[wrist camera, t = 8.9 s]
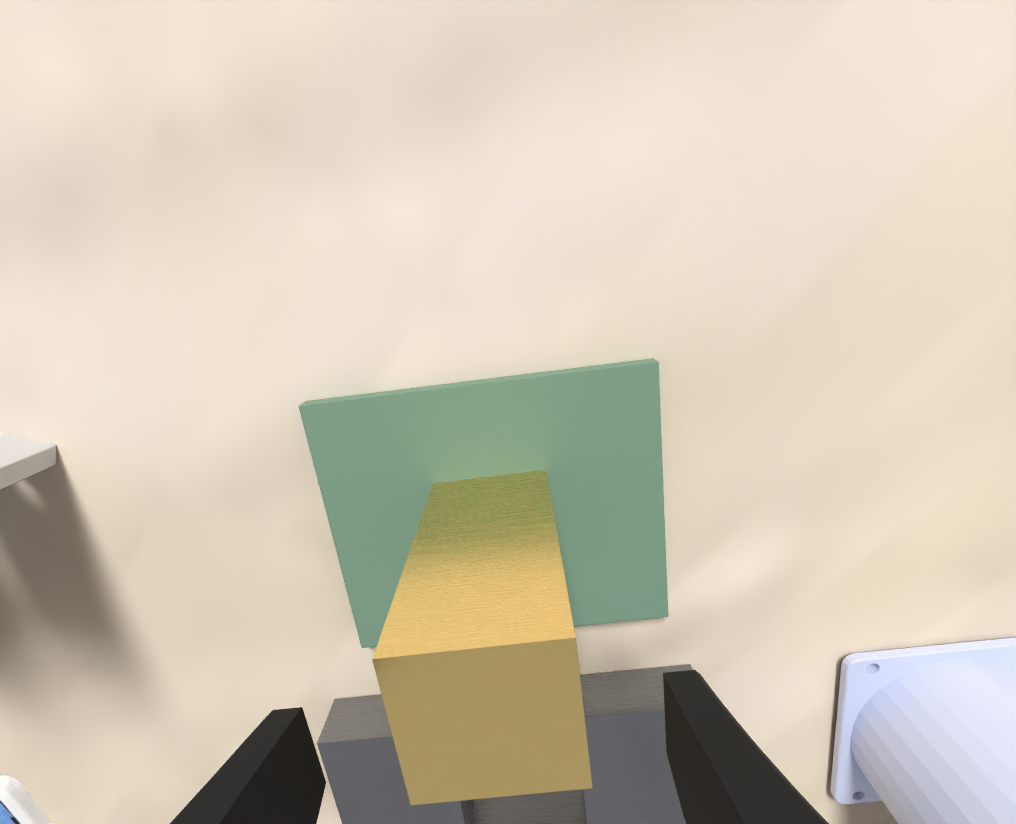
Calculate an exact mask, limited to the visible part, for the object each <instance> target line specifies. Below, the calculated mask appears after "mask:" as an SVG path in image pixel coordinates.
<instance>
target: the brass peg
mask: <svg viewBox="0 0 1016 824" xmlns="http://www.w3.org/2000/svg"><path fill="white" fill-rule="evenodd" d="M372 660H373V664H374V667H375V671H376V675H377V679H378V683H379V686H380V690H381V694H382V698H383V702H384V705H385V709H386V713H387V717H388V721H389V724H390V728H391V732H392V736H393V740H394V743H395V747H396V751H397V755H398V759H399V762H400V766H401V770H402V774H403V778H404V781H405V785H406V789H407V793H408V797H409V800H410V804H411V805H419V804H430V803H440V802H451V801H462V800H472V799H483V798H494V797H504V796H515V795H526V794H537V793H547V792H558V791H569V790H579V789H590V788H592V779H591V771H590V762H589V753H588V744H587V735H586V726H585V717H584V708H583V699H582V690H581V681H580V673H579V664H578V655H577V646H576V637H575V631H574V626H573V620H572V614H571V609H570V603H569V597H568V592H567V586H566V580H565V574H564V569H563V563H562V557H561V552H560V546H559V540H558V535H557V529H556V523H555V518H554V512H553V506H552V500H551V495H550V489H549V483H548V478H547V472H546V470H540V471H531V472H523V473H515V474H506V475H498V476H490V477H481V478H473V479H465V480H457V481H448V482H440V483H433V484H432V487H431V490H430V493H429V496H428V499H427V502H426V505H425V508H424V511H423V513H422V516H421V519H420V522H419V525H418V528H417V531H416V534H415V537H414V540H413V543H412V545H411V548H410V551H409V554H408V557H407V560H406V563H405V566H404V569H403V572H402V575H401V577H400V580H399V583H398V586H397V589H396V592H395V595H394V598H393V601H392V604H391V606H390V609H389V612H388V615H387V618H386V621H385V624H384V627H383V630H382V633H381V636H380V638H379V641H378V644H377V647H376V650H375V653H374V656H373V659H372Z"/></svg>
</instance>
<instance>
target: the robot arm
mask: <svg viewBox="0 0 1016 824" xmlns="http://www.w3.org/2000/svg"><path fill="white" fill-rule="evenodd" d="M663 687H664V710H665V733H666V753H667V756H668V760H669V764H670V768H671V772H672V775H673V779H674V783H675V787H676V790H677V794H678V798H679V801H680V805H681V809H682V812H683V816H684V818H685V821H686V824H829V823H828V822H827V821H826V820H825V819H824V818H823V817H822V816H821V815H820V814H819V813H818V812H817V811H816V810H815V809H814V808H813V807H812V806H811V805H810V804H809V802H808V801H807V800H806V799H805V798H804V797H803V796H802V795H801V794H800V793H799V792H798V791H797V790H796V788H795V787H794V786H793V785H792V784H791V783H790V782H789V781H788V780H787V778H786V777H785V776H784V775H783V774H782V773H781V772H780V771H779V769H778V768H777V767H776V766H775V765H774V764H773V763H772V762H771V761H770V759H769V758H768V757H767V756H766V755H765V754H764V753H763V752H762V750H761V749H760V748H759V747H758V746H757V745H756V743H755V742H754V741H753V740H752V739H751V738H750V736H749V735H748V734H747V733H746V732H745V730H744V729H743V728H742V727H741V725H740V724H739V723H738V722H737V721H736V719H735V718H734V717H733V716H732V715H731V713H730V712H729V711H728V710H727V708H726V707H725V706H724V705H723V703H722V702H721V701H720V700H719V698H718V697H717V696H716V694H715V693H714V692H713V690H712V689H711V688H710V687H709V685H708V684H707V683H706V681H705V680H704V679H703V677H702V676H701V674H699V673H698V672H697V671H696V670H686V671H676V672H665V673H663ZM325 784H326V781H325V778H324V775H323V771H322V768H321V765H320V762H319V759H318V756H317V753H316V749H315V746H314V743H313V740H312V737H311V734H310V730H309V727H308V724H307V721H306V718H305V715H304V712H303V708H302V707H300V708H290V709H279V710H273V711H272V712H271V713H270V714H269V715H268V716H267V717H266V718H265V719H264V720H263V721H262V722H261V723H260V725H259V726H258V727H257V728H256V729H255V730H254V731H253V732H252V733H251V734H250V736H249V737H248V738H247V739H246V740H245V741H244V742H243V743H242V745H241V746H240V747H239V748H238V749H237V750H236V751H235V752H234V754H233V755H232V756H231V757H230V758H229V759H228V760H227V761H226V762H225V764H224V765H223V766H222V767H221V768H220V769H219V770H218V771H217V773H216V774H215V775H214V776H213V777H212V778H211V779H210V780H209V781H208V783H207V784H206V785H205V786H204V787H203V788H202V789H201V790H200V791H199V792H198V793H197V795H196V796H195V797H194V798H193V799H192V800H191V801H190V802H189V803H188V804H187V806H186V807H185V808H184V809H183V810H182V811H181V812H180V813H179V814H178V815H177V816H176V818H175V819H174V820H173V821H172V822H171V823H170V824H316V822H317V819H318V814H319V810H320V806H321V802H322V797H323V793H324V789H325ZM830 790H831V794H832V795H833V797H834V798H835V800H836V801H837V802H838V803H841V804H854V803H865V802H877V801H883V803H884V804H885V805H886V807H887V808H888V810H889V811H890V813H891V814H892V816H893V817H894V819H895V820H896V821H897V823H898V824H1016V637H1015V638H1005V639H995V640H985V641H974V642H964V643H954V644H944V645H934V646H923V647H913V648H903V649H893V650H883V651H872V652H862V653H853V654H850V655H848V656H846V657H845V658H844V659H843V661H842V664H841V676H840V687H839V698H838V710H837V721H836V732H835V744H834V755H833V766H832V777H831V789H830Z"/></svg>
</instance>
